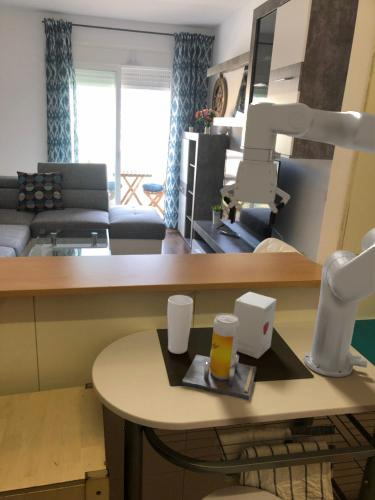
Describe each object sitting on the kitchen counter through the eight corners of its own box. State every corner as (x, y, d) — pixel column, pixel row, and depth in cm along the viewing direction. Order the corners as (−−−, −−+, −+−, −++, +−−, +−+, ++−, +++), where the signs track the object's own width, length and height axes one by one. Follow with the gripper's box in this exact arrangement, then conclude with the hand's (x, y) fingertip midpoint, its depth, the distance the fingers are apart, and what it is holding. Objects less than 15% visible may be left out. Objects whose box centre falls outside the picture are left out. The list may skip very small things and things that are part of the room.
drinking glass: (193, 347, 117) (197, 298, 113) (183, 358, 111) (186, 306, 107) (172, 341, 120) (174, 292, 116) (160, 352, 114) (163, 301, 110)
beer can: (215, 364, 108) (219, 310, 103) (237, 371, 105) (243, 316, 101) (205, 375, 102) (210, 319, 98) (229, 383, 100) (234, 326, 96)
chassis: (256, 370, 108) (258, 352, 106) (248, 400, 96) (251, 380, 94) (196, 358, 112) (197, 341, 110) (182, 385, 100) (183, 366, 98)
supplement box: (258, 359, 113) (264, 308, 109) (229, 349, 118) (234, 299, 114) (271, 346, 121) (277, 298, 116) (243, 337, 125) (248, 290, 121)
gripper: (295, 158, 103) (286, 226, 108) (226, 153, 107) (220, 218, 112) (294, 159, 96) (285, 232, 101) (220, 154, 100) (214, 224, 105)
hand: (251, 225), depth 106 cm, fingers open, 9 cm apart
